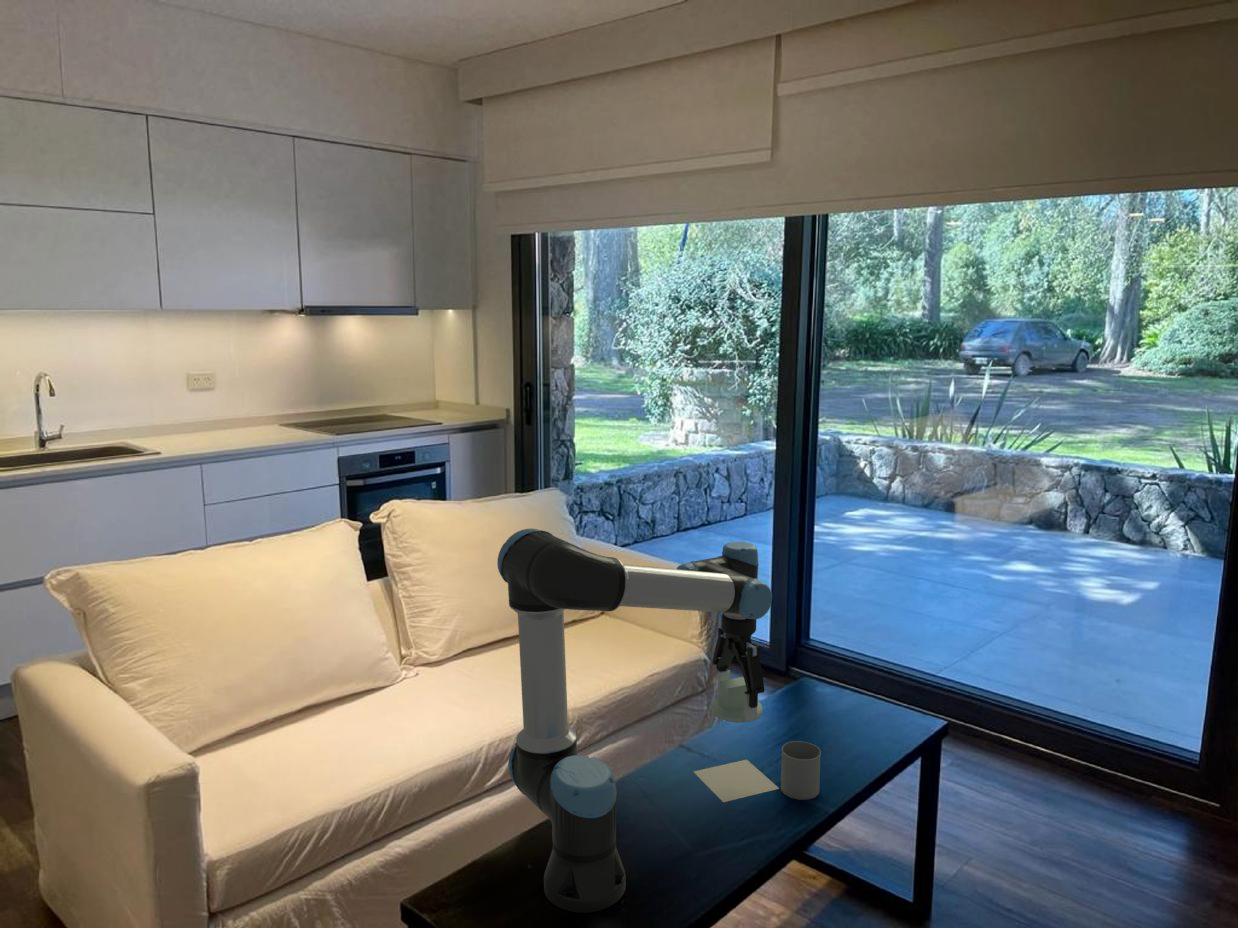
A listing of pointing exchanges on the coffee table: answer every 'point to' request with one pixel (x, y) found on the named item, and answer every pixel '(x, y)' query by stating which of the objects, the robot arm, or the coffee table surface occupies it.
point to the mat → (735, 780)
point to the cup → (800, 770)
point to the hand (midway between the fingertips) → (736, 708)
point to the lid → (732, 701)
